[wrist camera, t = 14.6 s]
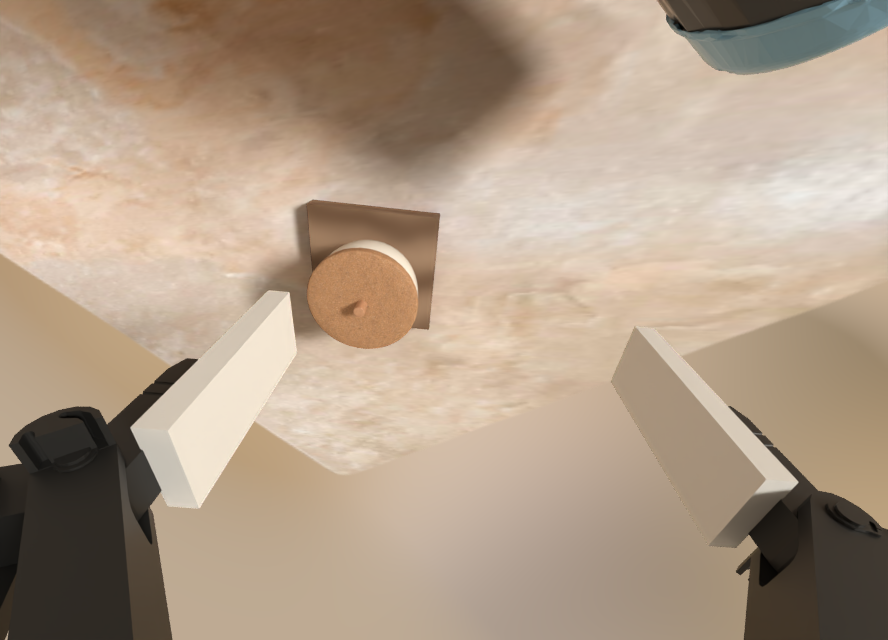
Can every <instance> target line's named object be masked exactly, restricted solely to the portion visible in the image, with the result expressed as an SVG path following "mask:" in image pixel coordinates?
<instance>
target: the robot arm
mask: <svg viewBox="0 0 888 640" xmlns="http://www.w3.org/2000/svg"><path fill="white" fill-rule="evenodd" d="M657 1H658V2H659V4H660V5H661V7H662V8H663V10H664V11H665V12H666V20H667V22H668V24H669V26H670V27H671V29H672V30H674V32H676V33H677V34H679V35H681V36H683V37H685V38H686V39H687V40H688V41H689V43H690V44H691V45H692V46H693V48H694V49H695V50H696V51H697V53H698V54H699V55H700V56H701V58H702V59H703V60H704V61H705V62H706V63H707V64H708V65H709V66H711V67H713V68H714V69H716V70H719V71H727V72H729V73H734V74H738V75H749V74H759V73H766V72H771V71H776V70H780V69H784V68H788V67H791V66H795V65H798V64H801V63H804V62H807V61H810V60H813V59H815V58H818V57H821V56H823V55H826V54H828V53H831V52H833V51H836V50H838V49H841V48H843V47H845V46H848V45H850V44H852V43H854V42H857V41H859V40H861V39H863V38H865V37H867V36H869V35H871V34H873V33H875V32H877V31H879V30H881V29H883V28H885V27H887V26H888V0H657ZM296 354H297V349H296V341H295V333H294V325H293V317H292V309H291V301H290V293H289V292H283V291H273V290H268V291H267V292H266V293H265V294H264V295H263V296H262V297H261V298H260V299H259V300H258V301H257V302H256V303H255V304H254V305H253V306H252V307H251V308H250V309H249V310H248V311H247V312H246V313H245V314H244V315H243V316H242V317H241V318H240V319H239V320H238V321H237V322H236V323H235V324H234V325H233V326H232V327H231V328H230V329H229V330H228V331H227V332H226V333H225V334H224V335H223V336H222V337H221V338H220V339H219V340H218V341H217V342H216V343H215V344H214V345H213V346H212V347H211V348H210V349H209V350H208V351H207V352H206V353H205V354H204V355H203V356H202V357H201V358H200V359H188V358H187V359H185V360H183V361H181V362H179V363H178V364H176V365H174V366H172V367H170V368H168V369H167V370H166V371H165V372H164V373H163V374H162V375H161V376H160V377H159V378H158V379H156V380H155V382H154V384H151V385H150V386H149V387H148V388H146V389H145V391H143V394H140V395H139V396H138V397H137V398H136V399H134V400H133V401H132V402H131V403H130V404H129V405H128V406H127V407H126V408H125V409H124V410H123V411H121V413H119V414H118V415H117V416H116V417H115V418H114V419H113V420H112V421H111V422H110V423H108V424H106V422H105V420H104V418H103V416H102V415H101V413H100V411H99V410H97V409H95V408H92V407H72V408H67V409H62V410H58V411H56V412H53V413H50V414H47V415H45V416H42V417H40V418H39V419H37V420H35V421H33V422H31V423H30V424H28V425H26V426H25V427H24V428H23V429H22V430H20V431H19V432H18V433H17V434H16V435H15V436H14V437H13V439H12V441H11V443H10V444H9V447H10V448H11V449H12V450H13V452H14V453H15V455H16V456H17V457H18V459H19V460H20V461H21V463H22V464H16V465H10V466H4V467H0V640H5V638H6V635H7V633H8V631H9V633H8V640H172V634H171V628H170V622H169V614H168V608H167V602H166V595H165V588H164V582H163V575H162V569H161V563H160V555H159V549H158V543H157V536H156V530H155V523H154V516H153V513H152V511H151V509H150V505H151V504H152V503H153V501H154V500H155V499H156V497H157V496H158V495H159V493H160V492H161V493H162V496H163V498H164V500H165V502H166V504H167V506H172V507H185V508H198V509H199V508H200V506H201V505H202V503H203V502H204V500H205V498H206V497H207V495H208V494H209V492H210V491H211V489H212V487H213V486H214V484H215V482H216V481H217V479H218V478H219V476H220V474H221V473H222V471H223V470H224V468H225V467H226V465H227V463H228V462H229V460H230V459H231V457H232V455H233V454H234V452H235V451H236V449H237V448H238V446H239V444H240V443H241V441H242V440H243V438H244V436H245V435H246V433H247V431H248V430H249V428H250V427H251V425H252V424H253V422H254V420H255V419H256V417H257V416H258V414H259V412H260V411H261V409H262V408H263V406H264V405H265V403H266V401H267V400H268V398H269V397H270V395H271V393H272V392H273V390H274V389H275V387H276V385H277V384H278V382H279V381H280V379H281V377H282V376H283V374H284V373H285V371H286V369H287V368H288V366H289V365H290V363H291V362H292V360H293V358H294V357H295V355H296ZM611 383H612V384H613V386H614V388H615V389H616V391H617V393H618V394H619V396H620V398H621V399H622V401H623V403H624V405H625V406H626V408H627V410H628V411H629V413H630V415H631V416H632V418H633V420H634V421H635V423H636V425H637V427H638V428H639V430H640V432H641V433H642V435H643V437H644V438H645V440H646V442H647V443H648V445H649V447H650V448H651V450H652V452H653V454H654V455H655V457H656V459H657V460H658V462H659V463H660V465H661V467H662V469H663V470H664V472H665V474H666V475H667V477H668V479H669V480H670V482H671V484H672V485H673V487H674V489H675V491H676V492H677V494H678V495H679V497H680V499H681V501H682V502H683V504H684V506H685V507H686V509H687V511H688V512H689V514H690V516H691V517H692V519H693V521H694V523H695V524H696V526H697V528H698V529H699V531H700V533H701V534H702V536H703V538H704V539H705V541H706V543H707V544H708V546H718V547H731V548H736V547H737V546H738V545H739V544H740V543H741V542H742V541H743V540H744V539H745V538H746V537H747V536H748V535H750V536H751V538H752V539H753V540H754V542H755V544H756V545H757V546H758V548H757V549H756V550H755V551H754V552H753V553H752V554H750V556H748V557H747V559H745V560H744V561H743V562H742V563H741V564H740V565H739V567H738V568H737V570H736V573H738V574H739V575H741V574H742V573H743V572H744V571H746V570H747V569H750V575H749V579H748V580H749V587H748V598H747V610H746V622H745V633H744V640H888V530H887V529H884V528H882V527H881V526H880V525H879V524H878V523H877V522H876V521H875V520H874V519H873V518H872V517H871V516H870V515H868V514H867V513H866V512H865V511H863V510H862V509H861V508H859V507H858V506H856V505H854V504H853V503H851V502H849V501H848V500H846V499H844V498H842V497H839V496H837V495H834V494H832V493H827V492H822V491H818V490H817V489H816V488H815V487H814V486H813V485H812V484H811V483H810V482H809V481H808V480H807V479H806V478H805V477H804V476H803V475H802V474H801V473H800V472H799V471H798V469H797V468H795V466H794V465H793V464H792V463H791V462H790V461H789V460H788V459H787V458H786V457H785V456H784V455H783V454H782V453H781V452H780V451H779V450H778V449H777V448H775V447H773V444H772V443H771V442H770V441H769V440H768V438H767V437H766V436H763V435H762V432H761V431H760V430H759V429H758V428H757V427H756V426H755V425H754V424H753V423H752V422H751V421H750V420H749V419H748V418H746V417H745V416H744V415H742V414H741V413H740V412H738V411H736V410H735V409H734V408H732V407H731V406H727V405H726V404H725V403H724V402H723V401H722V400H721V399H720V398H719V397H718V396H717V394H715V392H714V391H713V390H712V389H711V388H710V387H709V386H708V385H707V384H706V383H705V382H704V381H703V379H702V378H701V377H700V376H699V375H698V374H697V373H696V372H695V371H694V370H693V369H692V368H691V367H690V366H689V365H688V363H687V362H686V361H685V360H684V359H683V358H682V357H681V356H680V355H679V354H678V353H677V352H676V351H675V350H674V349H673V347H672V346H671V345H670V344H669V343H668V342H667V341H666V340H665V339H664V338H663V337H662V336H661V335H660V334H659V333H658V331H657V330H656V329H655V328H649V327H639V326H635V327H634V329H633V332H632V334H631V336H630V339H629V341H628V343H627V345H626V348H625V350H624V352H623V355H622V357H621V359H620V361H619V364H618V366H617V368H616V371H615V373H614V375H613V377H612V380H611Z"/></svg>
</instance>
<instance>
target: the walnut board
mask: <svg viewBox="0 0 888 640" xmlns="http://www.w3.org/2000/svg"><path fill="white" fill-rule="evenodd" d="M307 215H308V226H309V238H310V249H311V261H312V272H313V271H314V270H315V269H316V267H317V266H318V265H319V264H320V263H321V262H322V261H323V260H324V259H325V258H326V257H328V256H329V255H330V254H331V253H332V252H333V251H335V250H336V249H338V248H339V247H341V246H343V245H345V244H348V243H350V242H353V241H358V240H375V241H380V242H383V243H386V244H388V245H390V246H392V247H394V248H395V249H397V250H398V251H399V252H400V253H402V254H403V255H404V256H405V258H406V259H407V260H408V261H409V263H410V264H411V266H412V268H413V270H414V273H415V275H416V279H417V284H418V310H417V315H416V319H415V321H414V323H413V325H412V327H411V328H418V329H428V330H429V322H430V311H431V301H432V291H433V281H434V270H435V260H436V250H437V240H438V229H439V219H440V214H439V213H429V212H420V211H411V210H402V209H393V208H384V207H375V206H365V205H356V204H347V203H338V202H329V201H320V200H312V201H310V202H309V203H307Z"/></svg>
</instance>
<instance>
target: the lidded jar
mask: <svg viewBox="0 0 888 640" xmlns="http://www.w3.org/2000/svg"><path fill="white" fill-rule="evenodd" d="M307 301H308V305H309V308H310V311H311V313H312V315H313V317H314V319H315V320H316V322H317V323H318V324H319V326H320V327H321V328H322V329H323V330H324V331H325V332H326V333H327V334H329V335H330V336H331V337H333V338H334V339H336V340H338V341H340V342H342V343H344V344H346V345H349V346H353V347H357V348H365V349H370V348H380V347H384V346H388V345H390V344H393V343H395V342H397V341H398V340H400V339H401V338H402V337H403V336H404V335H406V334H407V333H408V331H409V330H410V329H411V327H412V325H413V323H414V321H415V319H416V315H417V310H418V284H417V279H416V275H415V273H414V270H413V268H412V266H411V264H410V263H409V261H408V260H407V259H406V258H405V256H404V255H403V254H402V253H400V252H399V251H398V250H397V249H395V248H394V247H392V246H390V245H388V244H386V243H383V242H380V241H375V240H358V241H353V242H350V243H348V244H345V245H343V246H341V247H339V248H338V249H336V250H335V251H333V252H332V253H331V254H330V255H329V256H328V257H326V258H325V259H324V260H323V261H322V262H321V263H320V264H319V265H318V266H317V267H316V269H315V270H314V271H313V273H312V275H311V277H310V279H309V283H308V287H307Z"/></svg>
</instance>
